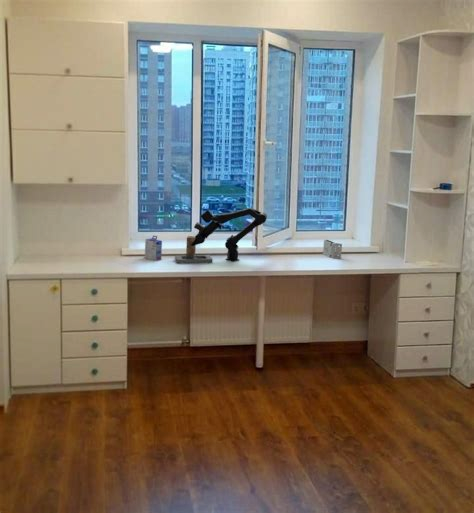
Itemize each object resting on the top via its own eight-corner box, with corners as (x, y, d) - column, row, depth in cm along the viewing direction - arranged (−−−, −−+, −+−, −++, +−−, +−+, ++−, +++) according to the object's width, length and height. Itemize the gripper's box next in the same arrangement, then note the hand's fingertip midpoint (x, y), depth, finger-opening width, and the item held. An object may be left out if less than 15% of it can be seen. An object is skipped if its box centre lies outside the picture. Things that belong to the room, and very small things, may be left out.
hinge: (341, 258, 428) (342, 243, 425) (335, 259, 425) (337, 244, 422) (325, 253, 438) (326, 239, 435) (320, 254, 435) (321, 240, 432)
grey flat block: (209, 259, 409) (209, 255, 409) (212, 263, 401) (212, 259, 400) (175, 259, 404) (175, 255, 403) (177, 263, 395) (177, 259, 395)
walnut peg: (195, 256, 414) (195, 236, 411) (193, 258, 410) (194, 238, 406) (187, 255, 415) (188, 235, 412) (186, 257, 410) (186, 237, 407)
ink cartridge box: (162, 259, 403) (162, 237, 399) (155, 261, 398) (156, 238, 394) (150, 256, 408) (151, 234, 404) (144, 258, 404) (144, 235, 400)
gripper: (204, 215, 414) (186, 231, 418) (199, 221, 396) (181, 237, 400) (215, 228, 415) (198, 243, 419) (211, 235, 398) (193, 251, 401)
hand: (192, 243), depth 410 cm, fingers open, 9 cm apart
